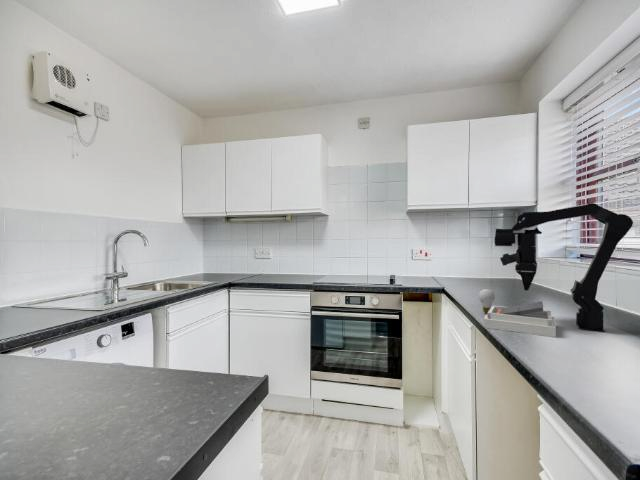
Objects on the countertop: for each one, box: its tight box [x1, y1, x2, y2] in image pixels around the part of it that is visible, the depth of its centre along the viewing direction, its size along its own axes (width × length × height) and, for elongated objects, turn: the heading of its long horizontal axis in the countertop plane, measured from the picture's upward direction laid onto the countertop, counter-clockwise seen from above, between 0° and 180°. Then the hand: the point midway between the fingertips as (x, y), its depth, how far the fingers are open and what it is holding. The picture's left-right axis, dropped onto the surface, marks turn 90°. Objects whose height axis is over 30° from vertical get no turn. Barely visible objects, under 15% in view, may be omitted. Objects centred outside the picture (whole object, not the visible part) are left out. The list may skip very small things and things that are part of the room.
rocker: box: [496, 300, 544, 315], centre depth 111 cm, size 14×12×1 cm
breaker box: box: [483, 305, 557, 338], centre depth 111 cm, size 20×16×5 cm
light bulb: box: [478, 288, 496, 315], centre depth 130 cm, size 6×6×10 cm
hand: (526, 288), depth 118 cm, fingers open, 9 cm apart
